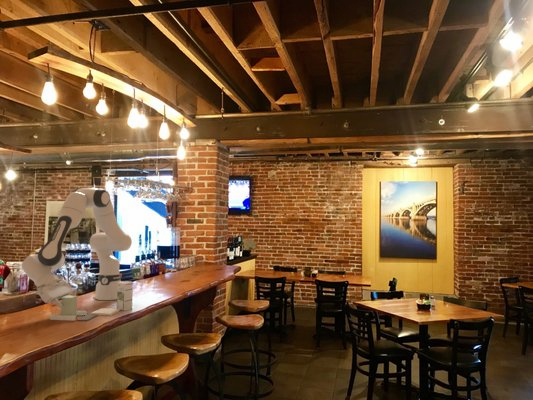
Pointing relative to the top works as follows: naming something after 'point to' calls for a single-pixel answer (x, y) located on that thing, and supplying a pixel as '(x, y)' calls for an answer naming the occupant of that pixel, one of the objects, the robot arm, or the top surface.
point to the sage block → (69, 305)
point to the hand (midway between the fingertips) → (67, 304)
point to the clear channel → (73, 318)
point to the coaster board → (105, 311)
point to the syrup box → (124, 295)
